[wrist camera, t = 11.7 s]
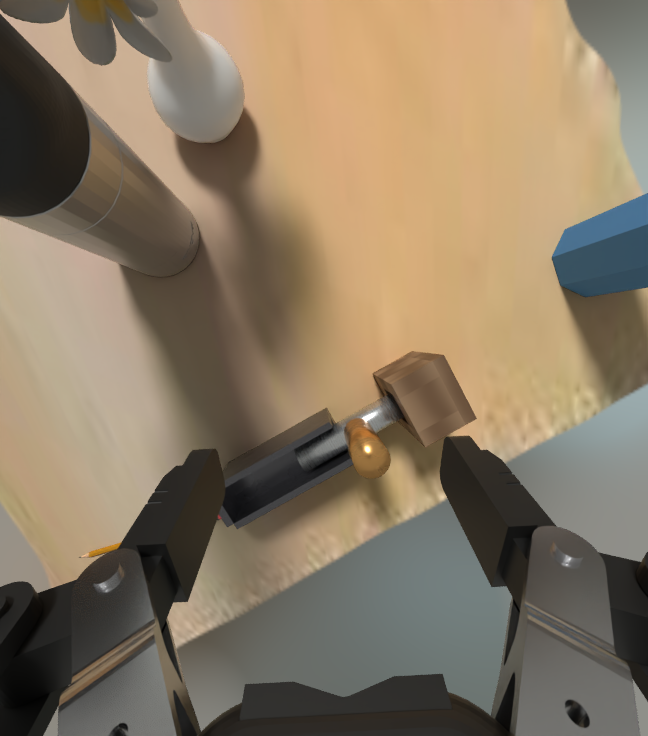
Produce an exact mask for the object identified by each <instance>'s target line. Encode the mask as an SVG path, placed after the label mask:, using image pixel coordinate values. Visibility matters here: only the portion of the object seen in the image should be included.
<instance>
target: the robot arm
mask: <svg viewBox="0 0 648 736" xmlns="http://www.w3.org/2000/svg"><path fill="white" fill-rule="evenodd" d="M0 217H3V218H5V219H8V220H10V221H13V222H15V223H18V224H20V225H23V226H25V227H28V228H30V229H33V230H36V231H38V232H41V233H44V234H46V235H49V236H51V237H54V238H56V239H59V240H61V241H64V242H66V243H69V244H71V245H74V246H76V247H79V248H81V249H84V250H86V251H89V252H91V253H94V254H96V255H99V256H101V257H104V258H106V259H109V260H112V261H114V262H117V263H119V264H122V265H124V266H126V267H129V268H131V269H134V270H136V271H139V272H141V273H144V274H147V275H150V276H155V277H167V276H172V275H174V274H177V273H179V272H181V271H182V270H184V269H185V268H186V267H187V266H188V265H189V264H190V263H191V262H192V260H193V259H194V257H195V255H196V253H197V250H198V246H199V230H198V227H197V223H196V221H195V219H194V217H193V215H192V213H191V212H190V211H189V210H188V208H187V207H186V206H185V205H184V204H183V203H182V202H181V201H180V200H179V199H178V198H177V197H176V196H175V195H174V194H173V192H172V191H171V190H170V189H169V188H168V187H167V186H166V185H165V184H164V183H163V182H162V181H161V180H160V179H159V178H158V177H157V176H156V174H155V173H154V172H153V171H152V170H151V169H150V168H149V167H148V166H147V165H146V164H145V163H144V162H143V161H142V160H141V159H140V158H139V157H138V156H137V155H136V154H135V153H134V152H133V150H132V149H131V148H130V147H129V146H128V145H127V144H126V143H125V142H124V141H123V140H122V139H121V138H120V137H119V136H118V135H117V134H116V133H115V132H114V131H113V130H112V129H111V127H110V126H109V125H108V124H107V123H106V122H105V121H104V120H103V119H102V118H101V117H100V116H99V115H98V114H97V113H96V112H95V111H94V110H93V109H92V108H91V107H90V106H89V105H88V104H87V103H86V102H85V101H84V100H83V98H82V97H81V96H80V95H79V94H78V93H77V92H76V91H75V90H74V89H73V88H72V87H71V86H70V85H69V84H68V83H67V82H66V80H65V79H64V78H63V77H62V76H61V75H60V74H59V73H58V72H57V71H56V70H55V69H54V68H53V67H52V66H51V65H50V64H49V63H48V62H47V61H46V60H45V59H44V58H43V57H42V56H41V55H40V54H39V53H38V52H37V51H36V50H35V49H34V48H33V47H32V46H31V45H30V44H29V43H28V42H27V41H26V40H25V39H24V38H23V37H22V36H21V35H20V34H19V33H18V31H17V30H16V29H15V28H14V27H13V26H12V25H11V24H10V23H9V22H8V21H7V20H6V19H5V18H4V17H3V16H2V15H1V14H0ZM440 480H441V484H442V487H443V490H444V492H445V494H446V496H447V498H448V500H449V502H450V504H451V506H452V508H453V510H454V512H455V514H456V516H457V518H458V520H459V522H460V524H461V526H462V528H463V530H464V532H465V534H466V536H467V538H468V540H469V542H470V544H471V546H472V548H473V550H474V552H475V554H476V556H477V558H478V560H479V562H480V564H481V566H482V568H483V570H484V573H485V575H486V577H487V579H488V580H489V583H490V585H491V587H500V586H507V588H508V590H509V591H510V593H511V595H512V599H511V603H510V609H509V616H508V622H507V629H506V635H505V643H504V649H503V655H502V663H501V668H500V675H499V680H498V684H497V688H496V693H495V697H494V701H493V706H492V712H491V716H490V715H489V714H488V713H486V712H485V711H484V710H482V709H481V708H479V707H478V706H476V705H475V704H473V703H471V702H470V701H468V700H466V699H464V698H462V697H459V696H457V695H455V694H452V693H449V692H447V688H446V685H445V682H444V678H443V674H432V675H415V676H394V677H392V678H389V679H387V680H385V681H383V682H380V683H378V684H376V685H373V686H371V687H369V688H367V689H364V690H362V691H360V692H358V693H355V694H353V695H351V696H348V697H340V696H337V695H334V694H330V693H327V692H324V691H321V690H318V689H315V688H311V687H308V686H305V685H302V684H299V683H295V682H280V683H262V684H246V685H245V689H244V695H243V700H242V703H240V704H238V705H236V706H234V707H232V708H231V709H229V710H227V711H226V712H224V713H222V714H221V715H220V716H219V717H217V718H216V719H215V720H213V721H212V722H211V723H210V724H209V725H208V726H207V727H206V728H205V729H204V730H203V731H202V732H201V730H200V726H199V723H198V720H197V717H196V714H195V711H194V708H193V705H192V702H191V700H190V697H189V694H188V690H187V687H186V683H185V680H184V676H183V673H182V669H181V665H180V661H179V658H178V654H177V650H176V647H175V643H174V639H173V636H172V632H171V628H170V625H169V621H168V619H167V616H168V614H169V611H170V609H171V606H172V604H173V602H188V599H189V597H190V594H191V591H192V588H193V585H194V582H195V580H196V577H197V574H198V571H199V568H200V566H201V563H202V560H203V557H204V554H205V551H206V549H207V546H208V543H209V540H210V537H211V535H212V532H213V529H214V526H215V523H216V520H217V518H218V515H219V512H220V509H221V506H222V504H223V501H224V496H225V481H224V477H223V472H222V468H221V464H220V460H219V456H218V452H217V450H216V449H201V450H192V451H191V452H190V454H189V456H188V457H187V459H186V461H185V462H184V464H183V466H176V467H175V468H173V469H172V470H171V471H170V472H169V473H168V474H166V475H165V476H164V477H163V478H162V480H161V482H160V483H159V485H158V486H157V488H156V489H155V493H153V494H152V496H151V497H150V499H149V500H148V504H146V505H145V507H144V508H143V510H142V511H141V513H140V514H139V516H138V517H137V519H136V521H135V522H134V524H133V525H132V527H131V528H130V530H129V532H128V533H127V535H126V536H125V538H124V539H123V541H122V543H121V544H120V546H119V547H118V549H117V550H114V551H111V552H109V553H107V554H105V555H103V556H101V557H100V558H98V559H97V560H95V561H94V562H93V563H92V564H90V565H89V566H88V567H87V568H86V569H85V570H84V571H83V572H82V574H81V575H80V576H79V578H78V579H77V580H74V581H72V582H69V583H66V584H63V585H60V586H57V587H54V588H51V589H48V590H45V591H43V592H40V593H37V592H36V591H35V590H34V588H33V587H32V585H31V584H29V583H28V582H14V583H10V584H7V585H4V586H2V587H0V736H43V735H44V733H45V731H46V729H47V727H48V725H49V723H50V721H51V719H52V717H53V715H54V713H55V711H56V709H57V707H58V705H59V709H58V710H59V711H58V736H640V729H639V722H638V715H637V708H636V701H635V694H634V687H633V680H634V681H635V683H636V684H637V686H638V687H639V689H640V690H641V692H642V693H643V695H644V696H645V698H646V699H647V701H648V552H647V553H646V555H645V557H644V558H643V560H642V562H638V561H633V560H629V559H624V558H620V557H616V556H611V555H607V554H603V553H599V552H597V550H596V549H595V548H594V547H593V546H592V545H591V544H590V543H589V542H587V541H586V540H585V539H583V538H582V537H580V536H579V535H577V534H575V533H573V532H571V531H569V530H567V529H563V528H561V527H557V526H556V525H555V524H554V523H553V522H552V520H551V519H550V518H549V517H548V515H547V514H546V513H545V512H544V511H543V509H542V508H541V507H540V506H539V505H538V503H537V502H536V501H535V500H534V498H533V497H532V496H531V495H530V494H529V493H528V491H527V490H526V489H525V488H524V486H523V485H521V484H520V481H519V480H518V479H517V478H516V477H515V475H512V472H511V471H510V469H509V468H508V467H507V466H506V464H505V463H504V462H503V461H502V460H501V459H500V458H498V457H497V456H495V455H494V454H492V453H491V452H490V451H488V450H480V448H479V447H478V446H477V444H476V443H475V442H474V441H473V439H472V438H471V437H470V436H453V437H446V438H445V439H444V444H443V451H442V459H441V467H440ZM632 678H633V680H632ZM70 684H71V685H70Z"/></svg>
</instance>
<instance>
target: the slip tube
mask: <svg viewBox="0 0 648 736" xmlns="http://www.w3.org/2000/svg"><path fill="white" fill-rule="evenodd" d="M402 418H404V415H403V413H402V411H401V409H400V408H399V406H398V404H397V402H396V400H395V398H394V397H393V395H392V394H391V393H389V394H387V395H386V396H384V397H382V398H380V399H379V400H377V401H375V402H373V403H371V404H370V405H368V406H366V407H364V408H362V409H361V410H359V411H357V412H355V413H354V414H352V415H350V416H348V417H346V418H345V419H343V420H341V421H339V422H337V423H336V424H334V425H332V426H333V428H331V429H329V430H328V431H326V432H324V433H322V434H320V435H319V436H317V437H315V438H313V439H312V440H310V441H308V442H306V443H304V444H303V445H301V446H299V447H297V448H295V449H294V452H295V455H296V458H297V460H298V462H299V464H300V465H301V467H302V468H303V470H304V471H306V472H307V471H309V470H311V469H313V468H314V467H316V466H318V465H320V464H322V463H323V462H325V461H327V460H329V459H330V458H332V457H334V456H336V455H338V454H339V453H341V452H343V451H345V450H347V449H349V452H350V455H351V458H352V461H353V464H354V467H355V469H356V471H357V472H358V473H359V474H360V475H361V476H363V477H365V478H371V479H372V478H378V477H380V476H382V475H383V474H384V473H385V472H386V471H387V470H388V468H389V466H390V461H391V459H390V454H389V452H388V450H387V449H386V447H385V446H384V444H383V443H382V441H381V440H380V438H379V437H378V435H377V434H376V433H377V432H379V431H381V430H382V429H384V428H386V427H388V426H390V425H391V424H393V423H395V422H397V421H398V420H400V419H402Z"/></svg>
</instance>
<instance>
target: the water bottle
mask: <svg viewBox="0 0 648 736" xmlns="http://www.w3.org/2000/svg"><path fill="white" fill-rule="evenodd" d="M552 260H553V263H554V266H555V270H556V273H557V276H558V279H559V283H560V285H561V286H563V287H565V288H567V289H569V290H571V291H573V292H575V293H578V294H580V295H582V296H584V297H590V296H596V295H602V294H609V293H615V292H621V291H628V290H634V289H640V288H647V287H648V193H647V194H645V195H642V196H640V197H638V198H636V199H633V200H631V201H629V202H627V203H624V204H622V205H620V206H617V207H615V208H613V209H611V210H608V211H606V212H604V213H601V214H599V215H597V216H595V217H592V218H590V219H588V220H586V221H583V222H581V223H579V224H576V225H574V226H572V227H570V228H567V229H565V231H564V233H563V235H562V237H561V239H560V241H559V243H558V245H557V247H556V249H555V252H554V254H553V256H552Z"/></svg>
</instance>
